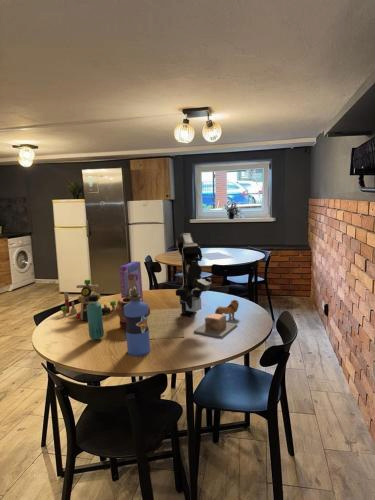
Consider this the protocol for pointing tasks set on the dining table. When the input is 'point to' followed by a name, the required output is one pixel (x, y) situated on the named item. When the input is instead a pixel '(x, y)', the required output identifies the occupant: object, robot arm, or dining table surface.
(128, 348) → the water bottle
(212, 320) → the tower base
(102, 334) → the teal caped figurine
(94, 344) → the dining table surface
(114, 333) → the dining table surface
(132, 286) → the cereal box
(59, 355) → the dining table surface
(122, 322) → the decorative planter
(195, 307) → the slate-gray cube
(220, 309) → the lion figurine
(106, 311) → the toy construction set
